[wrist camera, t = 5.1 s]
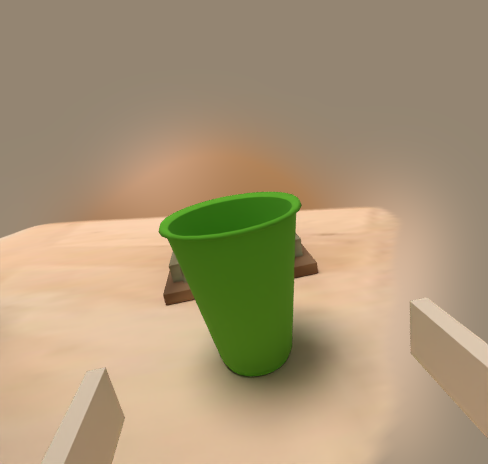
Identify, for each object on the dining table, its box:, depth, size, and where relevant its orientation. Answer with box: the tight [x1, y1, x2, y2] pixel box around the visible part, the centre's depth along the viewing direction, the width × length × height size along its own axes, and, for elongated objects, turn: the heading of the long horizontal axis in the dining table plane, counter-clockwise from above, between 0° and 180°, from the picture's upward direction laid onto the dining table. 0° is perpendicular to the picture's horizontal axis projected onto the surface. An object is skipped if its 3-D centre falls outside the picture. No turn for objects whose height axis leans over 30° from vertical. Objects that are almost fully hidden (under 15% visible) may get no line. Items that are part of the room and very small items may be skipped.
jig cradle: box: [163, 233, 318, 305], centre depth 42 cm, size 16×18×3 cm
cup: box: [159, 192, 301, 376], centre depth 22 cm, size 9×9×11 cm
